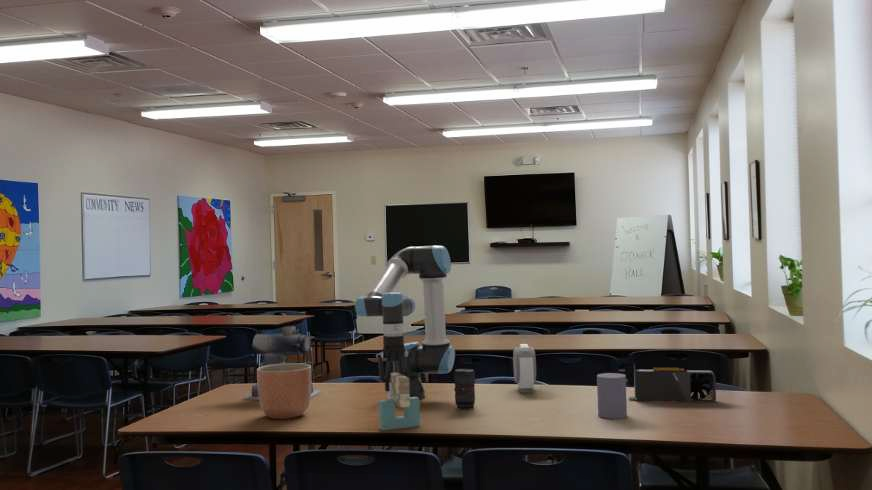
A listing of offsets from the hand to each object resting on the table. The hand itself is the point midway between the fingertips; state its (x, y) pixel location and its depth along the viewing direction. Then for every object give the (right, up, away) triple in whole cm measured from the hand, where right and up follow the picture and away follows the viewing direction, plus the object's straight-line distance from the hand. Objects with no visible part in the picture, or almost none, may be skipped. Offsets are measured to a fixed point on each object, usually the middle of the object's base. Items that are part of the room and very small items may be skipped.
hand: (395, 399), depth 271 cm
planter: (-44, -11, +20) cm, 49 cm away
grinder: (-54, -11, +62) cm, 83 cm away
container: (+80, -7, +3) cm, 80 cm away
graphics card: (+109, -6, +27) cm, 112 cm away
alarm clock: (+54, -8, +58) cm, 80 cm away
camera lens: (+27, -9, +25) cm, 38 cm away
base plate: (+2, -9, -4) cm, 10 cm away
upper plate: (+2, 0, -4) cm, 5 cm away
